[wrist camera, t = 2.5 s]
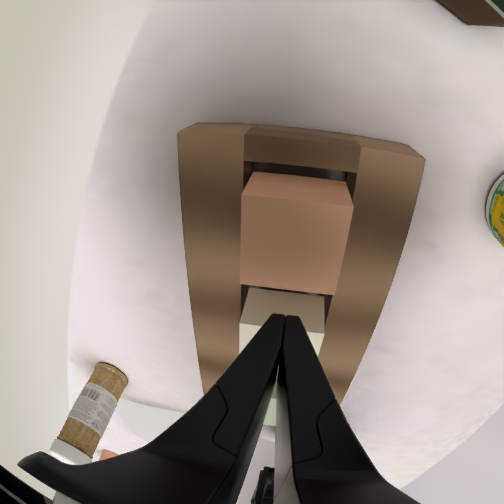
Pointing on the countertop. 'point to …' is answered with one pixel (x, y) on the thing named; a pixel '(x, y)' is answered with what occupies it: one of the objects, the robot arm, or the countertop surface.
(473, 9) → the beer bottle
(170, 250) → the countertop surface
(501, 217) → the supplement bottle
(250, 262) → the terracotta key
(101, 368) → the sprinkles bottle
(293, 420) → the robot arm
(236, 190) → the wooden tray
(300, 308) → the cream key
